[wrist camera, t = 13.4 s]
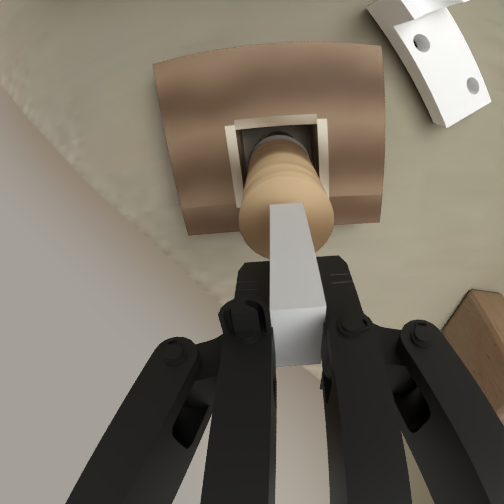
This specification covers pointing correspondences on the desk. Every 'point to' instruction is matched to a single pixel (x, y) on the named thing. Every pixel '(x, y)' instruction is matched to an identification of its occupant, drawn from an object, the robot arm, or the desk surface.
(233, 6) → the desk surface
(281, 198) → the oak peg
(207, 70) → the seat board
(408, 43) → the bracket
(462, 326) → the wooden block
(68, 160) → the desk surface
